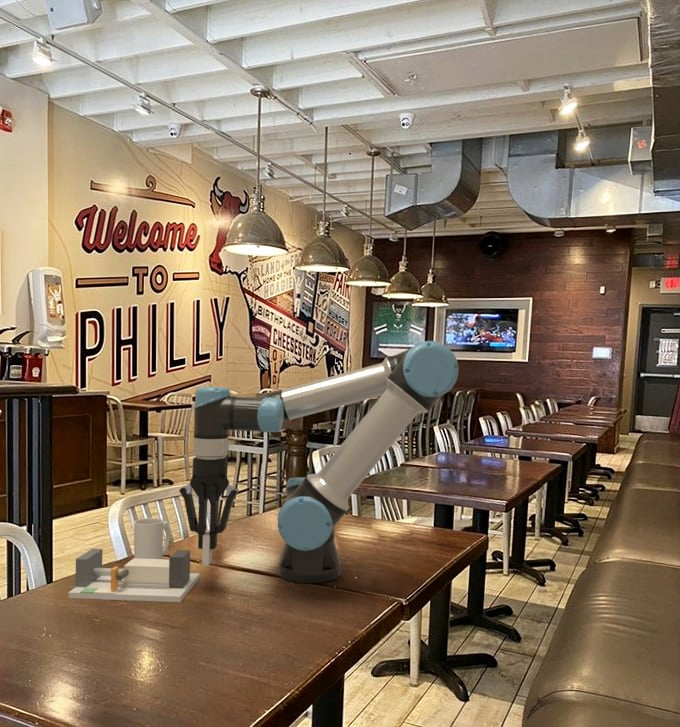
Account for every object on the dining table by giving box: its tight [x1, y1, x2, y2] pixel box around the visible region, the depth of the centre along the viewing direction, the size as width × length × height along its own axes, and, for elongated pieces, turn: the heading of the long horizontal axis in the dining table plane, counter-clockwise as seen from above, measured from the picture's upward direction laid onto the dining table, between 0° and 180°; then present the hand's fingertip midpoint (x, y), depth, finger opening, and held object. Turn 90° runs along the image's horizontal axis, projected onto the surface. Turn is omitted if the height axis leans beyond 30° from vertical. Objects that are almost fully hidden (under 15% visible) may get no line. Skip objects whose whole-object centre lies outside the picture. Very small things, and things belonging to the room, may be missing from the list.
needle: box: [111, 566, 120, 590], centre depth 136 cm, size 1×2×4 cm, turn 176°
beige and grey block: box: [117, 549, 191, 587], centre depth 139 cm, size 13×9×6 cm
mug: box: [133, 517, 171, 559], centre depth 155 cm, size 10×7×12 cm, turn 147°
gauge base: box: [68, 548, 201, 603], centre depth 142 cm, size 24×15×7 cm, turn 87°
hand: (206, 563), depth 141 cm, fingers closed
